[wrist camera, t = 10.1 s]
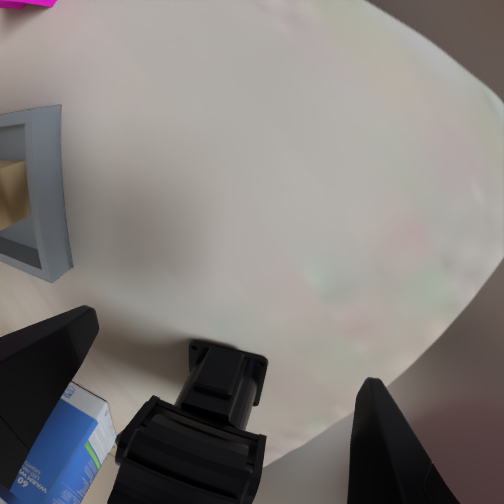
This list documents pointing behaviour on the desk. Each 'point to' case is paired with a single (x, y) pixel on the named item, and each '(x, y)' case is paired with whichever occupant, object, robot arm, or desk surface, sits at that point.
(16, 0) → the toy block
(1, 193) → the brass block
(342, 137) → the desk surface
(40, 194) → the tray
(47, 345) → the robot arm
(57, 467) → the string lights box
